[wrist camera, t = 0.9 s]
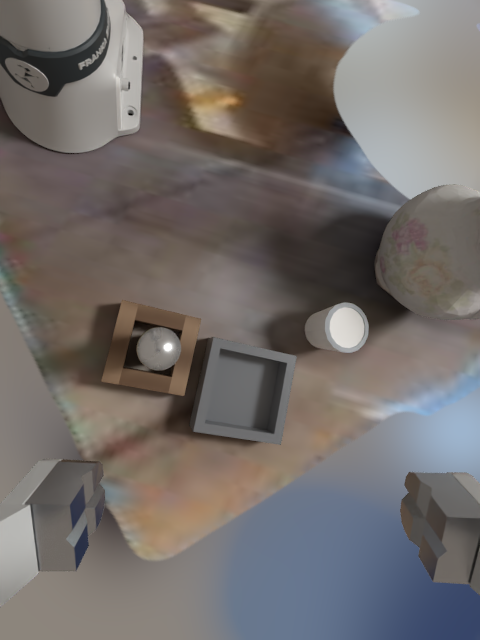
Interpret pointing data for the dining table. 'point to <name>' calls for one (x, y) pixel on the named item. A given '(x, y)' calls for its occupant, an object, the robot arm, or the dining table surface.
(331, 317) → the shot glass
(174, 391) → the socket block
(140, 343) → the steel pin
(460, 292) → the ceramic pitcher
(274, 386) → the tray
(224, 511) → the dining table surface
